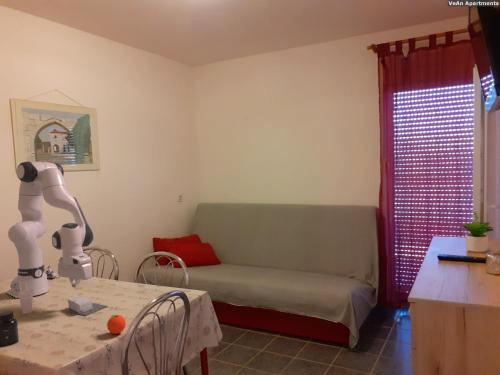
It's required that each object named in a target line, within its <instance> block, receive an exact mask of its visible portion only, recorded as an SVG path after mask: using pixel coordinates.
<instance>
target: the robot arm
mask: <svg viewBox="0 0 500 375" xmlns="http://www.w3.org/2000/svg"><path fill="white" fill-rule="evenodd" d="M64 173H65V172H64V167H63V166H62V165H61V164H59V163H56V162H48V161H23V162H20V163H19V164H18V166H17V168H16V176H17V178H18V179H19V181H20V183H19V184H20V185H19V188H18V202H17V203H18V204H17V210H19V212H20V214H21V221H20V222H17V223H15V224H14V225H12V226H11V227H10V228H9V229H8V231H7V232H8V233H7V236H8V239H9V240H10V241H11V242H12V243H13V244H14V246H15V249H16V251H17V256H18V265H19V266H18V269H16V270H17V276H16V277H15V278H13V280H12V281H11V283H10V285H9V286H10V289H9V290H7V291H6V292H5V294H6V293H8V294H9V296H10V295H11V297H12V296H13V297H12V298H14V297H15V298H14V299H19V296H18V293H19V292H21V291H25V290H26V284H25V282H27V290H33V291H34V293H33V297H34V296H38V295H42V294H44V293H45V294H46V293H47V292H48V291H49V289H51V285H49V281H48V280H49V279H47V275H46V270H45V264H44V260H43V259H44V258H43V257H44V256H43V250H42V249H41V248H40V247H39V245H38V241H37V239H39V238H41V237H42V236H43V235H44V234H45V233H46V232H47V230H48V225H47V223H46V222H45V220H44V215H43V199H44V202H45V203H46V204H47V205H49V206H51V207H54V208H58V209H62V210H66V211H68V212H69V213H71V215H72V217H73V218H74V222H73V223H72V222H67V223H64V224H62V225H61V227H60V229H59V230H56V231H54V233H53V234H52V236H51V241H52V242H51V244H52V247H53V248H55V249H56V250H59V251H61V250H62V253H61V257H60V258H59V259H58V263H57V276H58V278H67V279H69V282H70V284H71V288H75V289H77V288H79V287H80V281H87V280H90V279H92V278H93V276H92V275H93V270H92V263H91V261H92V258H91V257H90V256H89V255H87V254H86V253H84V250H83V247H86V248H87V247H89V246H90V245H91V244H92V242H93V241H94V233H93V230H92V228H91V227H90V225H89V223H88V221H87V219H86V217H85V216H86V215H84V212H83V210H82V207H81V205H80V203H79V201H78V199H77V198H76V197H74V196H72V195H71V193H70V192H69V191H68V188H67V184H66V180H65V178H64V175H65V174H64ZM8 294H7V295H8Z"/></svg>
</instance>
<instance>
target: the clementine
mask: <svg viewBox="0 0 500 375" xmlns="http://www.w3.org/2000/svg"><path fill="white" fill-rule="evenodd" d="M126 324H127V322H126V319H125V318H124V317H123V315H120V314H112V315H111V317H109V319H108V321H107V322H106V328H107V330H108V331H109V332H110V333H111V334H114V335H115V334H121V333H122V332H123V331H124V329H125V328H126Z"/></svg>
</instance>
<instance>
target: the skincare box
mask: <svg viewBox="0 0 500 375" xmlns="http://www.w3.org/2000/svg"><path fill="white" fill-rule="evenodd" d="M67 303H68V304H67V305H68V308H69V310H70V309H72V310H74V311H76V312H78V313H83V312H86V311H89V310H92V309H93V308H92V303H93V301H92V300H91V299H90V298H86V297H83V296H81V295H77V296H74V297H73V296H72V297H71V298H68V299H67Z"/></svg>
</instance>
